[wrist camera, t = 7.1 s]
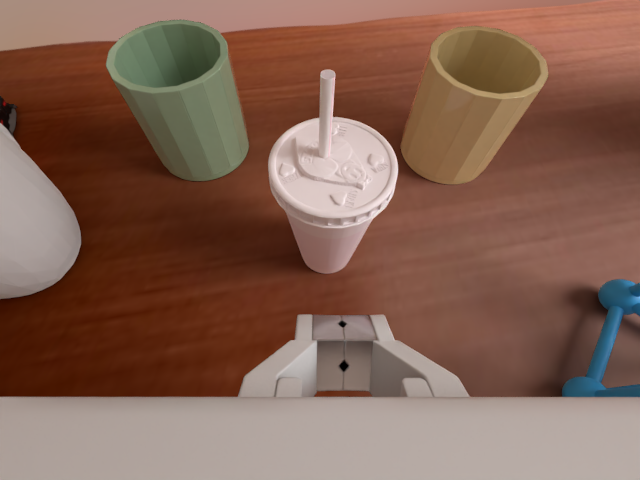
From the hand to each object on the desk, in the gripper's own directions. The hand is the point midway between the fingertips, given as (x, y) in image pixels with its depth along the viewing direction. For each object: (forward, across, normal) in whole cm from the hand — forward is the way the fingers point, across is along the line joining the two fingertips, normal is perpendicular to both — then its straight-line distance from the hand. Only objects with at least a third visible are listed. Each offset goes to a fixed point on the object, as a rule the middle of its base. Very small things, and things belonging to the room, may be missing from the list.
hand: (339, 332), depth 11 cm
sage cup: (+20, +10, -6) cm, 23 cm away
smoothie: (+13, 0, +2) cm, 13 cm away
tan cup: (+20, -10, -6) cm, 23 cm away
